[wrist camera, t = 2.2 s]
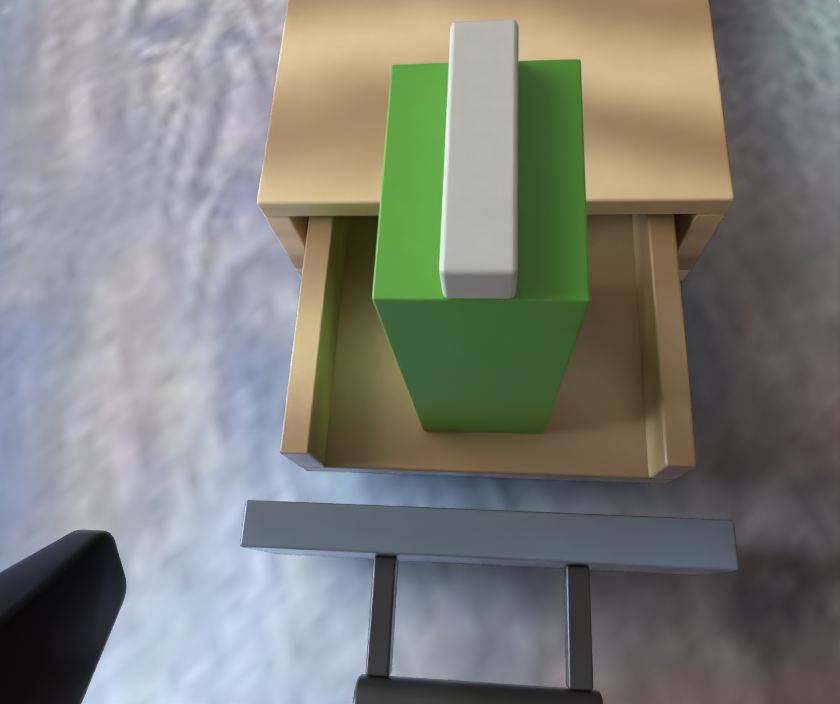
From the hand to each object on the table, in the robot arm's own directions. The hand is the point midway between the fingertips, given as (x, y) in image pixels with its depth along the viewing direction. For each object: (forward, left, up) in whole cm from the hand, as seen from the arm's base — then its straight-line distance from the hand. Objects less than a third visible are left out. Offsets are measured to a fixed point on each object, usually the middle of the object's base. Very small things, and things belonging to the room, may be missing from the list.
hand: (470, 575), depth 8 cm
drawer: (+6, 0, -12) cm, 14 cm away
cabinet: (+18, 0, -13) cm, 22 cm away
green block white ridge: (+7, 0, -11) cm, 13 cm away
